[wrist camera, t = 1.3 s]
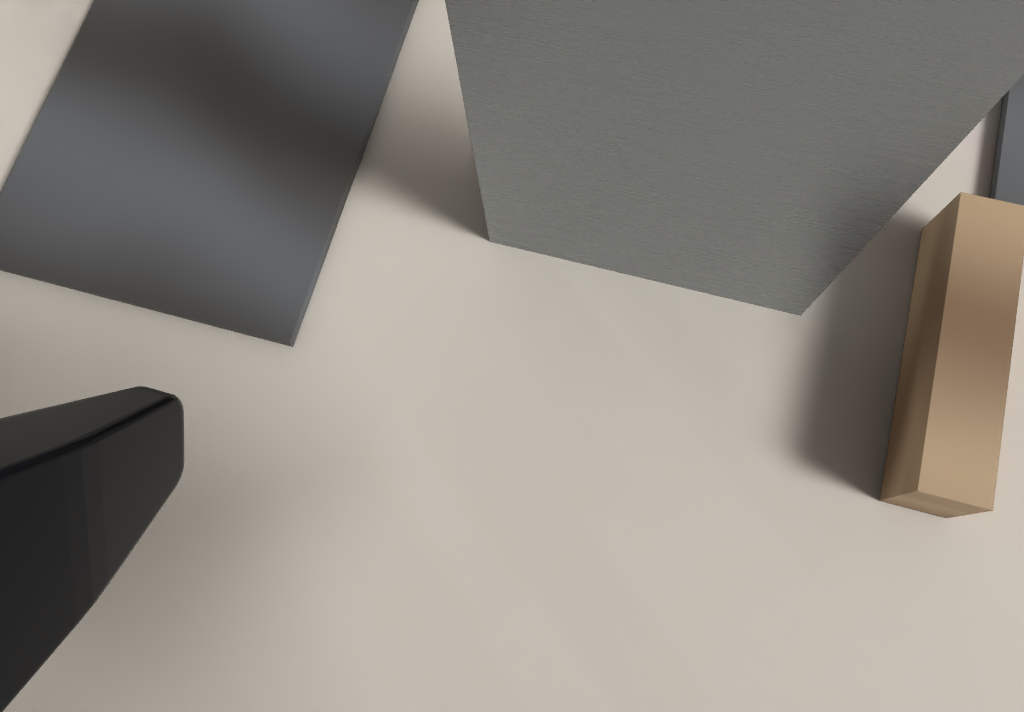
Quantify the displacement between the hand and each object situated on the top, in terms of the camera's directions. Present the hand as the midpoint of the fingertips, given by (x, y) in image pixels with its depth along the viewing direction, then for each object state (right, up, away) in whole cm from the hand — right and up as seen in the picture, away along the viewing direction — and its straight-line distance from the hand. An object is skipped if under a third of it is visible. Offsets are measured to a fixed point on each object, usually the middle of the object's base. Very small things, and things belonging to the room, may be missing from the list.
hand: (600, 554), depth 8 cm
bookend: (+4, +9, +14) cm, 17 cm away
